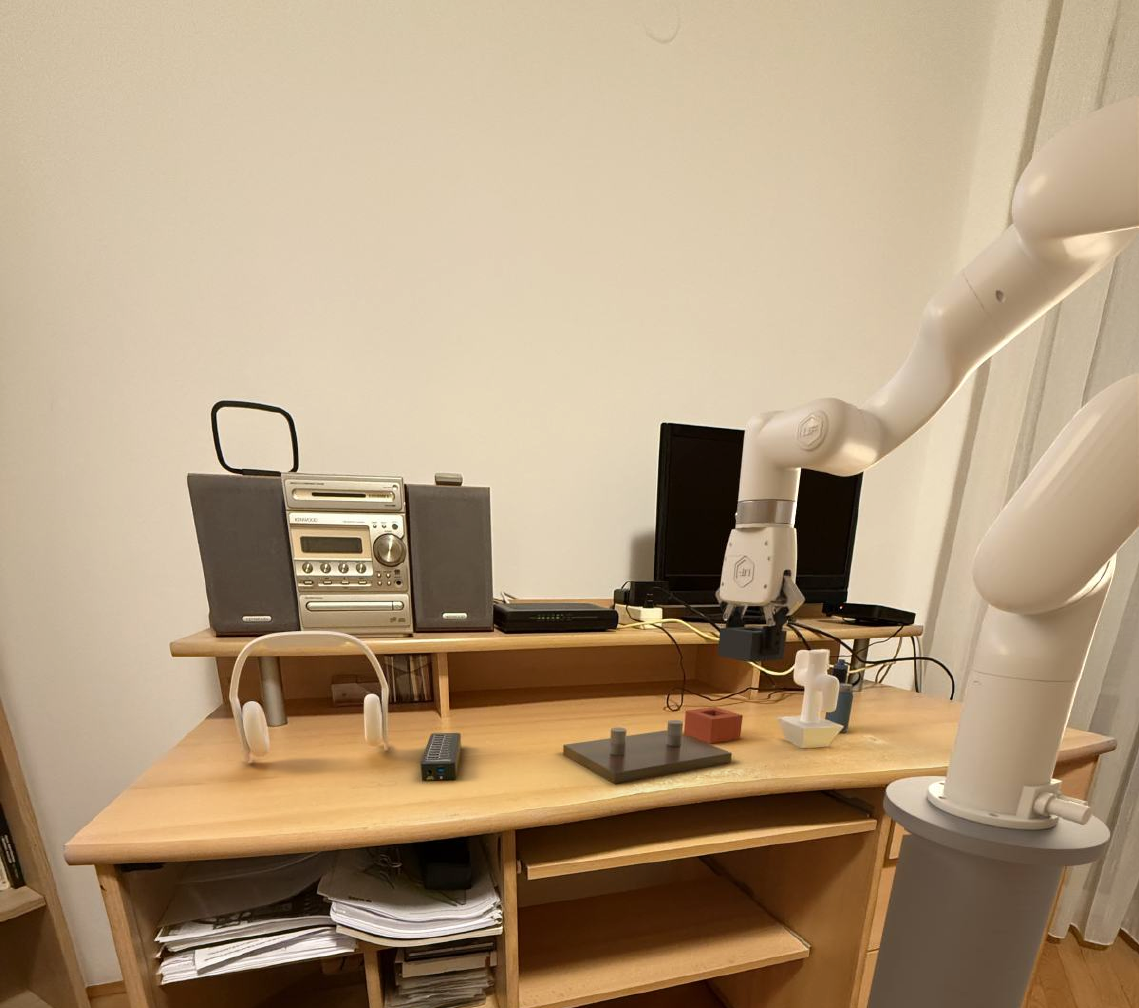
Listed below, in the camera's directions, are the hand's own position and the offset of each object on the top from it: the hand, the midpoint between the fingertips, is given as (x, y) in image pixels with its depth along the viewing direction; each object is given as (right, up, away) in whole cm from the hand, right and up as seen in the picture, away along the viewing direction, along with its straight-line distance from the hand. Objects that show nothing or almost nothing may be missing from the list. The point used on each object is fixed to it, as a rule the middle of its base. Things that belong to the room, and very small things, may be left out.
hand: (750, 650), depth 86 cm
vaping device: (+21, -11, +19) cm, 30 cm away
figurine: (+12, -13, +10) cm, 21 cm away
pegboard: (-15, -16, +1) cm, 22 cm away
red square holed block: (-2, -12, +13) cm, 18 cm away
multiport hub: (-44, -16, -2) cm, 47 cm away
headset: (-61, -16, -1) cm, 63 cm away
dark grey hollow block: (0, -1, 0) cm, 1 cm away
